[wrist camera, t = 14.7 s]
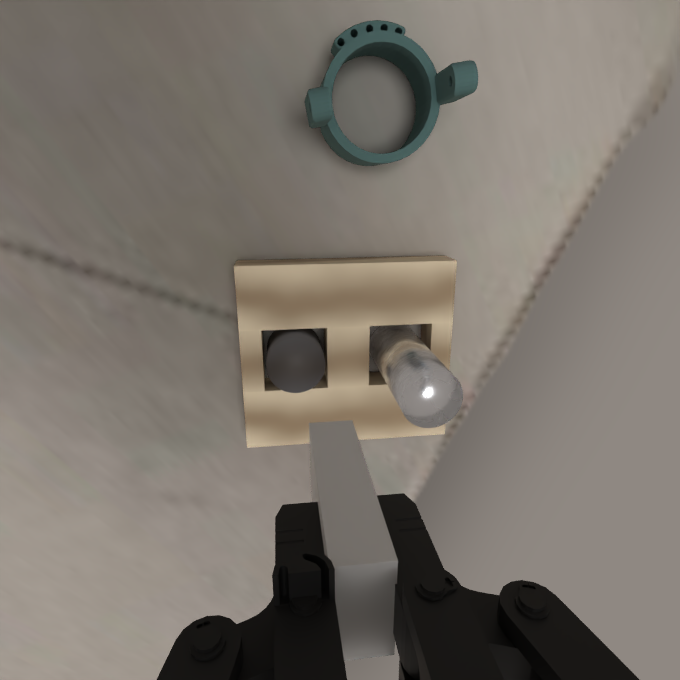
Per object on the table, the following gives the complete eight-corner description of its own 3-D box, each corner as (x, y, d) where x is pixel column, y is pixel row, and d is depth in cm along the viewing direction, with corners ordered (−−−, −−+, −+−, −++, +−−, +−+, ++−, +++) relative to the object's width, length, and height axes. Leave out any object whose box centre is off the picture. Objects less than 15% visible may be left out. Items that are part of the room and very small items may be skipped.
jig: (236, 260, 40) (232, 269, 36) (444, 255, 42) (463, 263, 38) (248, 431, 45) (246, 456, 41) (434, 419, 47) (449, 441, 43)
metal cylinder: (368, 322, 43) (401, 371, 32) (416, 320, 44) (465, 367, 32) (368, 367, 45) (399, 430, 33) (414, 365, 45) (460, 426, 34)
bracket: (444, 100, 38) (491, 74, 30) (370, 192, 40) (395, 193, 31) (359, 13, 36) (385, -42, 27) (284, 115, 37) (286, 93, 29)
